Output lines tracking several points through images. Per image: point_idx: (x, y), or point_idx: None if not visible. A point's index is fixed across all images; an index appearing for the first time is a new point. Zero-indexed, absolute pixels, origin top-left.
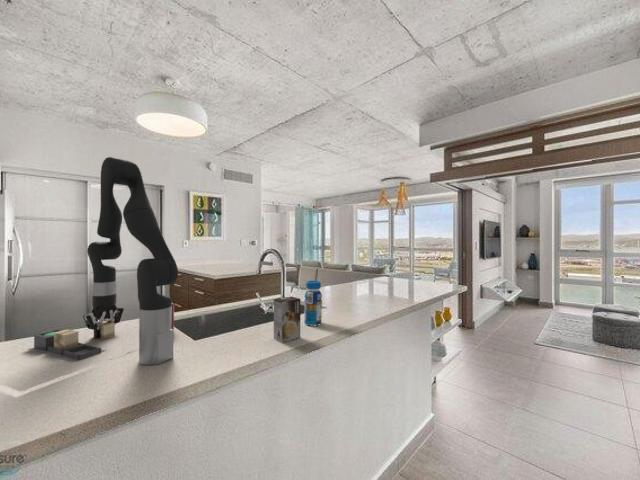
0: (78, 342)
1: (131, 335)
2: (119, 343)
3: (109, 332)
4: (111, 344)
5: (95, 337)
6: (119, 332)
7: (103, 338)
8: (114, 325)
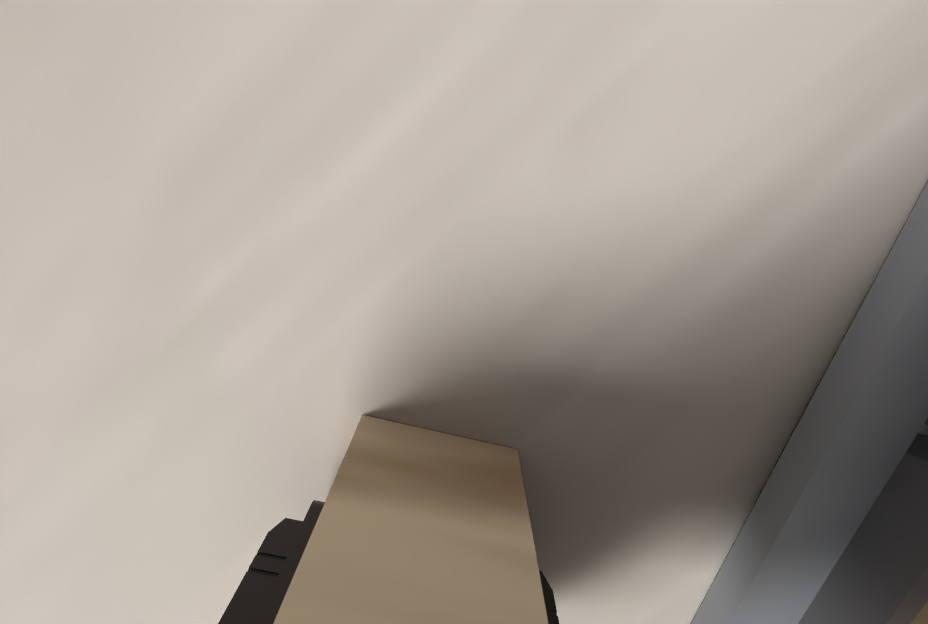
0: (895, 609)
1: (165, 269)
2: (544, 162)
3: (427, 518)
4: (601, 259)
5: (544, 598)
6: (135, 536)
7: (522, 487)
8: (291, 601)
